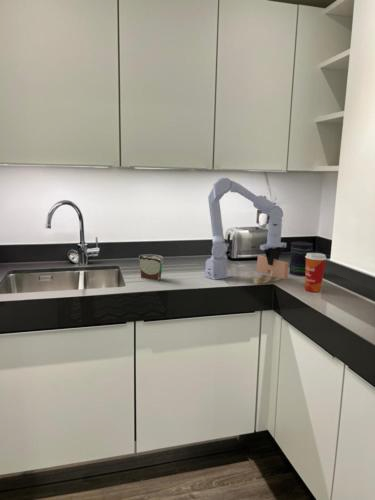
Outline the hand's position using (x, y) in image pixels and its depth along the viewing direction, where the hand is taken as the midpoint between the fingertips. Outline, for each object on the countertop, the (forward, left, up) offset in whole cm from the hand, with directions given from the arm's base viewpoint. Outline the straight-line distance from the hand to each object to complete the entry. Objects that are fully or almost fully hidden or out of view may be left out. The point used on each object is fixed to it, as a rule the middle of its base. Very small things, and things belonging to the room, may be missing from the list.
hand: (272, 264), depth 165 cm
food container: (-43, +29, -8) cm, 52 cm away
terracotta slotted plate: (0, 0, -4) cm, 4 cm away
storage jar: (+22, +2, -8) cm, 23 cm away
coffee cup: (+4, -19, -8) cm, 21 cm away
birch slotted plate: (0, 0, -7) cm, 7 cm away
